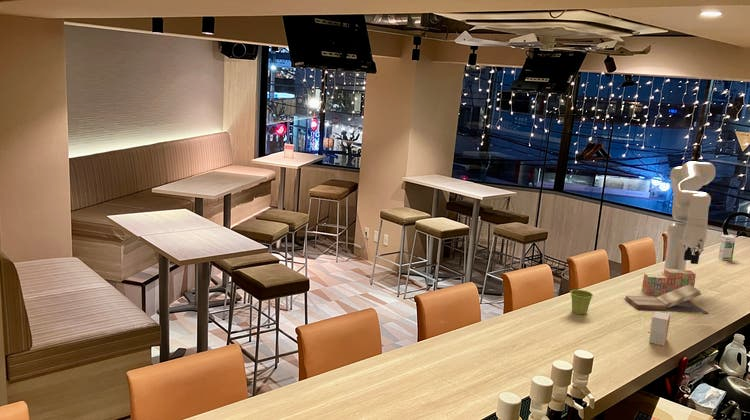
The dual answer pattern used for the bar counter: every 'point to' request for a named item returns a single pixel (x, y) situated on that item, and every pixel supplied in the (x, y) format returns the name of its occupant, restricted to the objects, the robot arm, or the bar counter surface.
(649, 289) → the stack of blocks
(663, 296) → the plank
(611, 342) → the bar counter surface
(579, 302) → the plant pot
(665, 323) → the small box
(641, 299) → the laid board
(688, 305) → the underlay mat
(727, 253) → the syrup box
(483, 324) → the bar counter surface
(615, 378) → the bar counter surface
